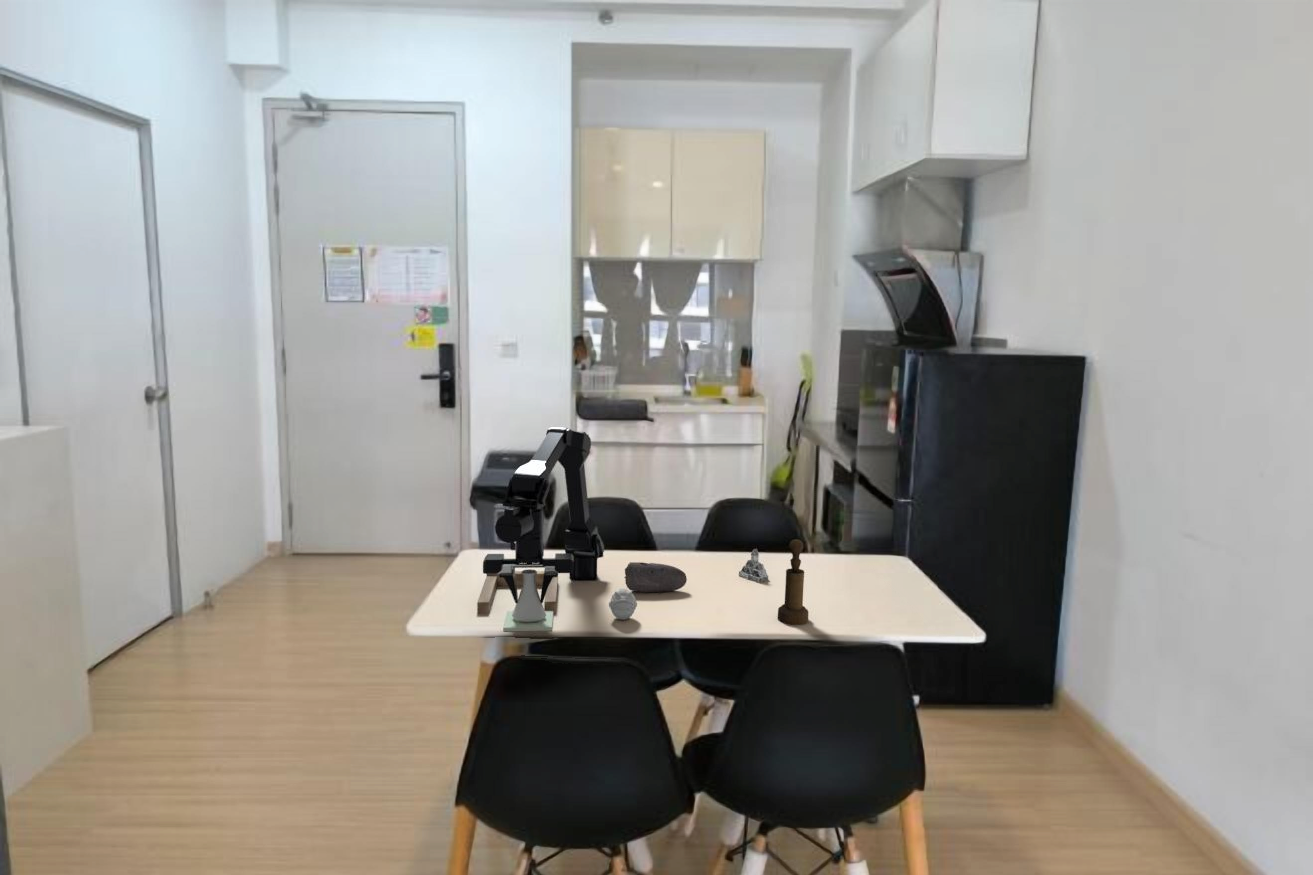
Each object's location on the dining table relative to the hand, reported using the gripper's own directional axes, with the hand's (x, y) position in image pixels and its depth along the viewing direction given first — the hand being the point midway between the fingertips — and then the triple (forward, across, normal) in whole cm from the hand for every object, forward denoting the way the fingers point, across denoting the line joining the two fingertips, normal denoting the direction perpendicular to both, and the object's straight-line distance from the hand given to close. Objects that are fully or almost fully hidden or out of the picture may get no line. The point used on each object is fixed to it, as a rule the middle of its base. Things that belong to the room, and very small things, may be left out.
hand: (529, 602), depth 179 cm
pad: (+4, 0, 0) cm, 4 cm away
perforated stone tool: (+5, -29, -20) cm, 36 cm away
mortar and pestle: (+5, -57, 0) cm, 57 cm away
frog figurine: (+5, -20, -1) cm, 21 cm away
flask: (+3, 0, 0) cm, 3 cm away
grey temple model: (+5, -57, -31) cm, 66 cm away
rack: (+4, +3, -16) cm, 17 cm away
